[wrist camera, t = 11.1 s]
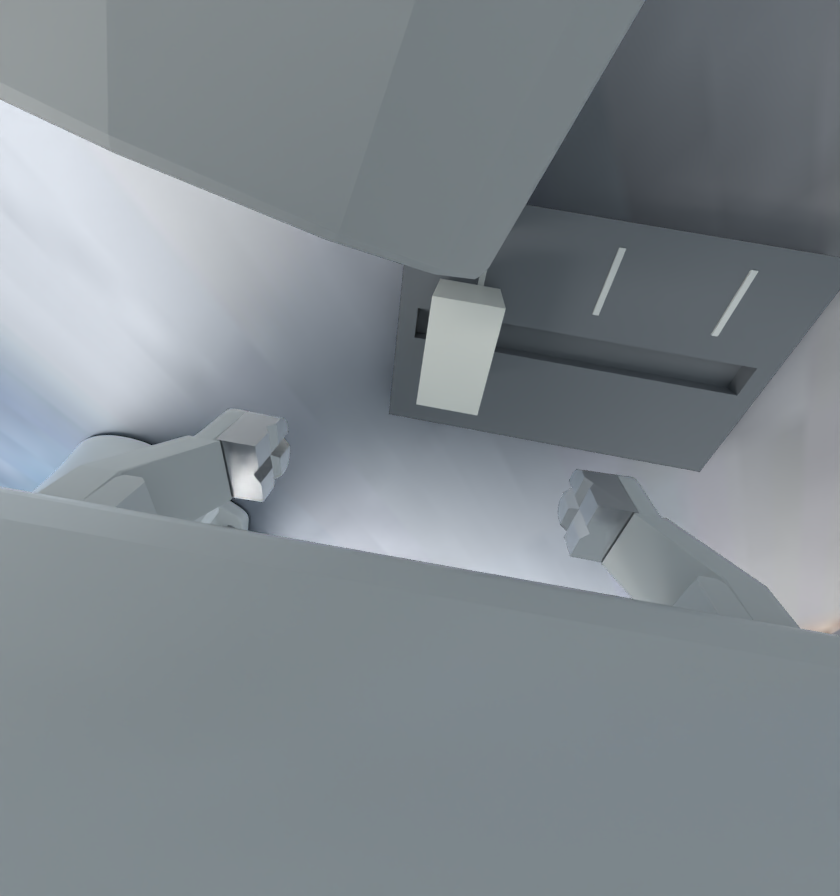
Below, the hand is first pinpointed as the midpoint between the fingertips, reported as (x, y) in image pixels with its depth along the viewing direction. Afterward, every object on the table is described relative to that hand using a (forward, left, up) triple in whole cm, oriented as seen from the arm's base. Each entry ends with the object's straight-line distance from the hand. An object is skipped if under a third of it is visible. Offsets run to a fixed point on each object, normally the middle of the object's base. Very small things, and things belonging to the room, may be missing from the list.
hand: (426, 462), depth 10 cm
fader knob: (0, 0, -12) cm, 12 cm away
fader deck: (0, -7, -14) cm, 15 cm away
